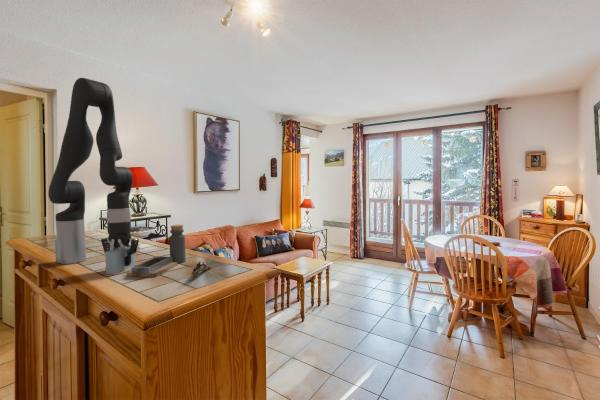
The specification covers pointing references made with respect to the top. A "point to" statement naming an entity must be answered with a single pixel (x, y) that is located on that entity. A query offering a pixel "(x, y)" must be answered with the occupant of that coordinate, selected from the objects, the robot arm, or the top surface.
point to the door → (117, 261)
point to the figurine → (199, 268)
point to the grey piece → (153, 267)
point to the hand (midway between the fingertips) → (121, 265)
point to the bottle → (177, 244)
